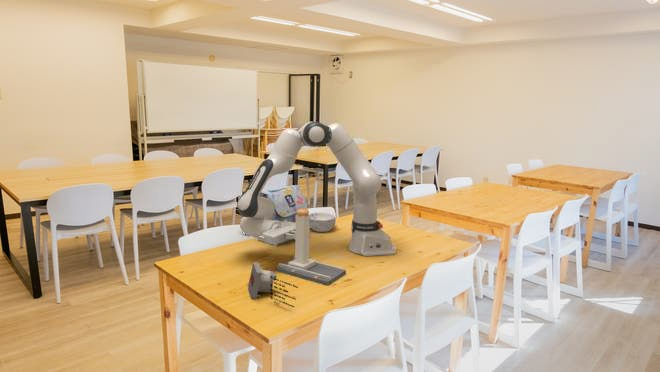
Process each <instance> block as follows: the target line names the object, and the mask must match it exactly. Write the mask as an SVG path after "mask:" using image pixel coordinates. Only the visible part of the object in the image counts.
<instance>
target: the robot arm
mask: <svg viewBox="0 0 660 372" xmlns="http://www.w3.org/2000/svg"><path fill="white" fill-rule="evenodd" d="M324 145H326V146H327V147H328V148H329V150H330V151H331V153H332V154H333V156H334V158H336V160H337V161H338V163H339V164H340V165H341V167H342V169H343V170H344V171H345V172H346V174H347V175H348V177H349V178H350V179H351V181H352V197H353V198H352V201H353V208H352V209H353V211H352V221H351V237H350V242H349V246H348V250H349V251H350V252H352V253H354V254H358V255H361V256H364V257H372V256H390V255H396V254H397V248H396V246H395V245H394V244H392V239H391V237H390V235H389V234H387V232H385V231H384V230H383V227H384V226H383V224H382V223H381V222H380V221H379V220H378V219H377V218H378V217H377V216H378V203H377V202H378V201H377V194H378V193H379V191H381V188H382V180H381V177H380V175H379V174H378V172H377V170H376V169H375V168H374V167H373V166H372V164H371V163H370V161H369V160H368V158H367V157H366V155H365V154H364V153H363V152H362V150H361V149H360V148H359V146H358V144H357V142H356V141H355V140H354V139H353V137H352V136H351V134H350V133H349V132H348V131H347V129H346V128H344V127H343V126H342V125H341V124H340V123H338V122H337V123H336V122H335V123H331V124H329V125H325V124H324V123H322V122H319V121H308V122H306V123H305V124H304V123H303V125H301V126H300V127H298V128H297V129H293V128H284V129H283V130H282V132H281V133H280V134H279V136H278V137H277V139H276V141H275V142H274V145H273V148H271V149H272V150H271V152H270V153H269V155H268V157H267V158H266V159H264V160H263V161H262V162H261V163H260V165H259V166H258V167H257V169H256V171H255V173H254V175H253V177H251V178H252V179H251V180H250V182H249V184H248V185H247V187H246V188H245V190H244V192H243V193H242V194H241V195H240V196H239V198H238V200H237V203H236V204H237V205H236V208H237V211H238V213H239V215H240V216H241V220H240V222H239V227H240V230H241V231H243V232H244V233H245V234H247V235H249V236H248V237H252V238H256V239H258V238H259V239H263V241H262V242H264V243H265V244H270V245H273V244H277V243H279V242H282V241H284V240H287V239H292V240H296V223H294V222H287V220H272V218H273V215H274V211H275V205H274V202H273V201H272V200H271V199H269V198H265V197H261V196H262V195H260V194H261V193H262V191H263V189H264V188H265V185H266V184H267V182H268V181H269V180H270V178H272V177H274V176H276V175H280V174H281V175H282V174H285V173H289V171H291V169H292V168H293V166H294V164H295V163H296V160H297V157H298V155H299V152H300V151H301V149H302V148H303V147H309V148H316V147H321V146H324ZM242 216H243V218H242ZM247 235H246V236H247Z"/></svg>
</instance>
